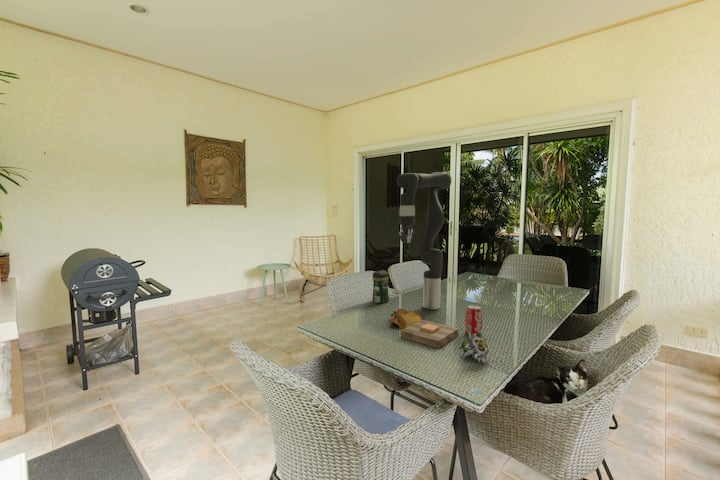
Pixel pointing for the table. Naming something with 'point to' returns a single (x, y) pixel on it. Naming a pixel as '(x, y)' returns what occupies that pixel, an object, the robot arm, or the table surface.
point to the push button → (429, 328)
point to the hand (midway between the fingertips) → (406, 250)
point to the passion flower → (476, 347)
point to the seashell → (404, 318)
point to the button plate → (429, 334)
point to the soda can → (473, 319)
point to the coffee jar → (380, 286)
